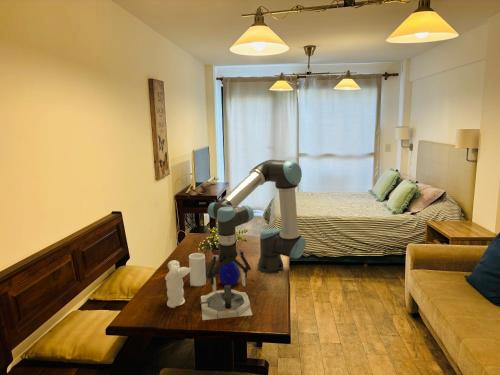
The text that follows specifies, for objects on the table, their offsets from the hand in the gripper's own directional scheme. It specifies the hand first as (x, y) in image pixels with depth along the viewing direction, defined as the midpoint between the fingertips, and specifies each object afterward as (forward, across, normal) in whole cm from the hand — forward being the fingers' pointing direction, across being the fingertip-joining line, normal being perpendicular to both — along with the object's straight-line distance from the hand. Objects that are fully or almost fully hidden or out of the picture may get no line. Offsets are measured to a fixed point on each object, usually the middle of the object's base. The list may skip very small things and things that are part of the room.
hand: (229, 287), depth 162 cm
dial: (+11, 0, +6) cm, 12 cm away
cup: (+12, -7, +34) cm, 37 cm away
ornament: (+13, +8, +26) cm, 30 cm away
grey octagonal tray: (+12, 0, +6) cm, 13 cm away
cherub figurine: (+12, -20, +17) cm, 29 cm away
